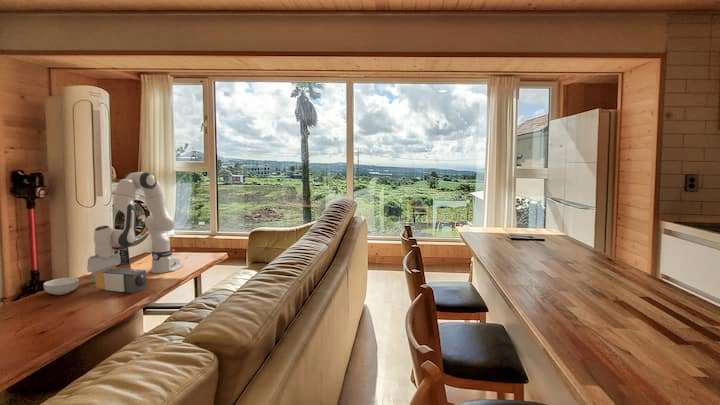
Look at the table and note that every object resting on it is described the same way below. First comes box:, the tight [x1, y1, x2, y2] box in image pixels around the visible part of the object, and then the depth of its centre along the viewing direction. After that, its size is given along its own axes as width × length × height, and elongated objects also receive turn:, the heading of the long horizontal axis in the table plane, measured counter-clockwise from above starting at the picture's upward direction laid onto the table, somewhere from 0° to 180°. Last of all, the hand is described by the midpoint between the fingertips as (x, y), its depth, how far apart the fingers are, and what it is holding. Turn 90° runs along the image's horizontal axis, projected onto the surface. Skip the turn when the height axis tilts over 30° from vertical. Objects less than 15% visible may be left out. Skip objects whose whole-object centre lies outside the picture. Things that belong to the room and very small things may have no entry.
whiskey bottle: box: [111, 224, 132, 270], centre depth 284 cm, size 10×10×32 cm
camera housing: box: [105, 268, 148, 294], centre depth 246 cm, size 10×22×12 cm, turn 74°
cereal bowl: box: [43, 277, 80, 296], centre depth 239 cm, size 17×17×7 cm
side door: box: [95, 272, 126, 293], centre depth 242 cm, size 20×2×10 cm, turn 74°
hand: (105, 275), depth 247 cm, fingers closed
